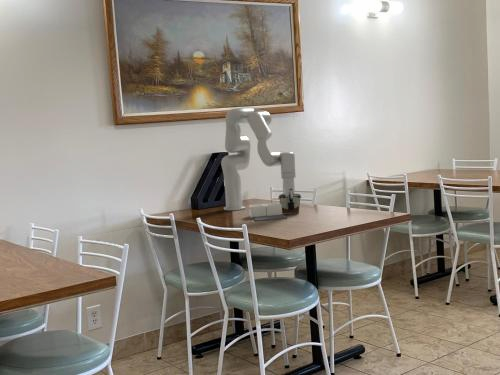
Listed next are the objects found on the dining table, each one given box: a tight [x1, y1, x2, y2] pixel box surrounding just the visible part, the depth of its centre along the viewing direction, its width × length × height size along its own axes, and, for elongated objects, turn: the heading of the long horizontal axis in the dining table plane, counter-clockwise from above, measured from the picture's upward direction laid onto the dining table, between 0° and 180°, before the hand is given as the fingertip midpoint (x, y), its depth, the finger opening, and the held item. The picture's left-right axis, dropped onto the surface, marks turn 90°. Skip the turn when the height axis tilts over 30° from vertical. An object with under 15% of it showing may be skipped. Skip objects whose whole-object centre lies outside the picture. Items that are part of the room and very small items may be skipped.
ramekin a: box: [248, 203, 266, 219], centre depth 336 cm, size 8×8×6 cm
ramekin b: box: [263, 202, 282, 216], centre depth 337 cm, size 8×8×6 cm
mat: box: [252, 214, 288, 222], centre depth 329 cm, size 12×16×1 cm
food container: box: [278, 193, 302, 215], centre depth 340 cm, size 12×6×10 cm, turn 90°
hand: (290, 208), depth 340 cm, fingers closed on food container, 5 cm apart
